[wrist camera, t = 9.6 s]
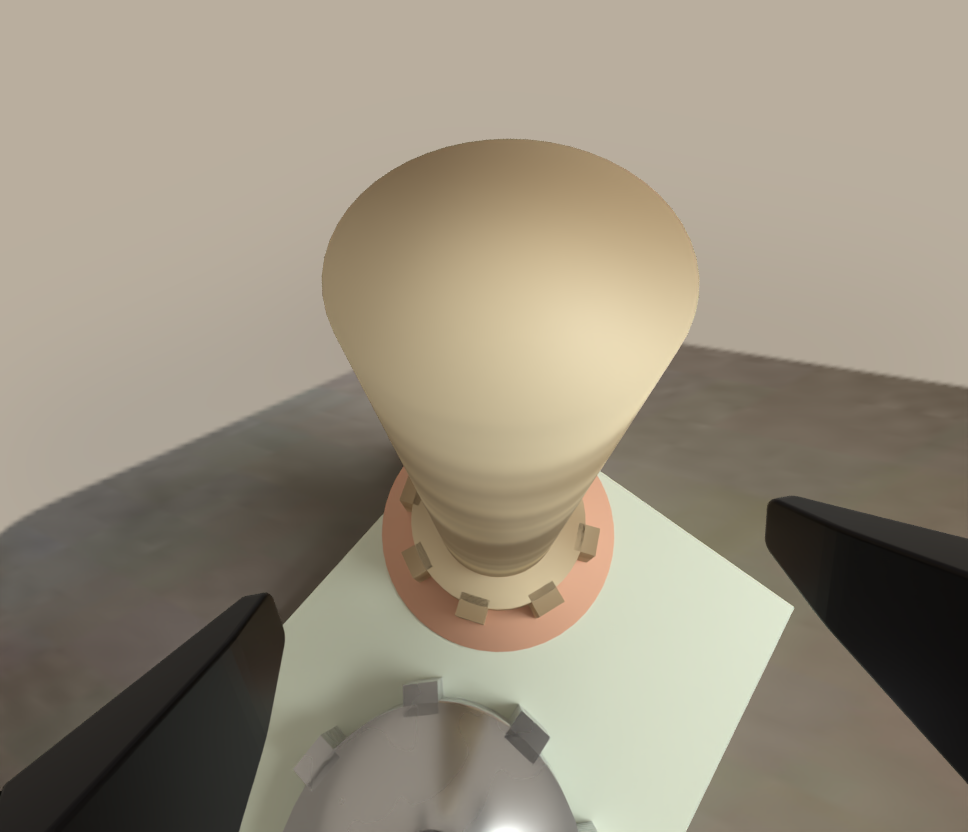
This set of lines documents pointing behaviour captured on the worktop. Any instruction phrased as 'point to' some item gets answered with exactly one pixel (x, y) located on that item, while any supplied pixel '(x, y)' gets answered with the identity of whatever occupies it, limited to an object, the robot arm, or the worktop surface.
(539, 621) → the board
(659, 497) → the worktop surface
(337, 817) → the gear
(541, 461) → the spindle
